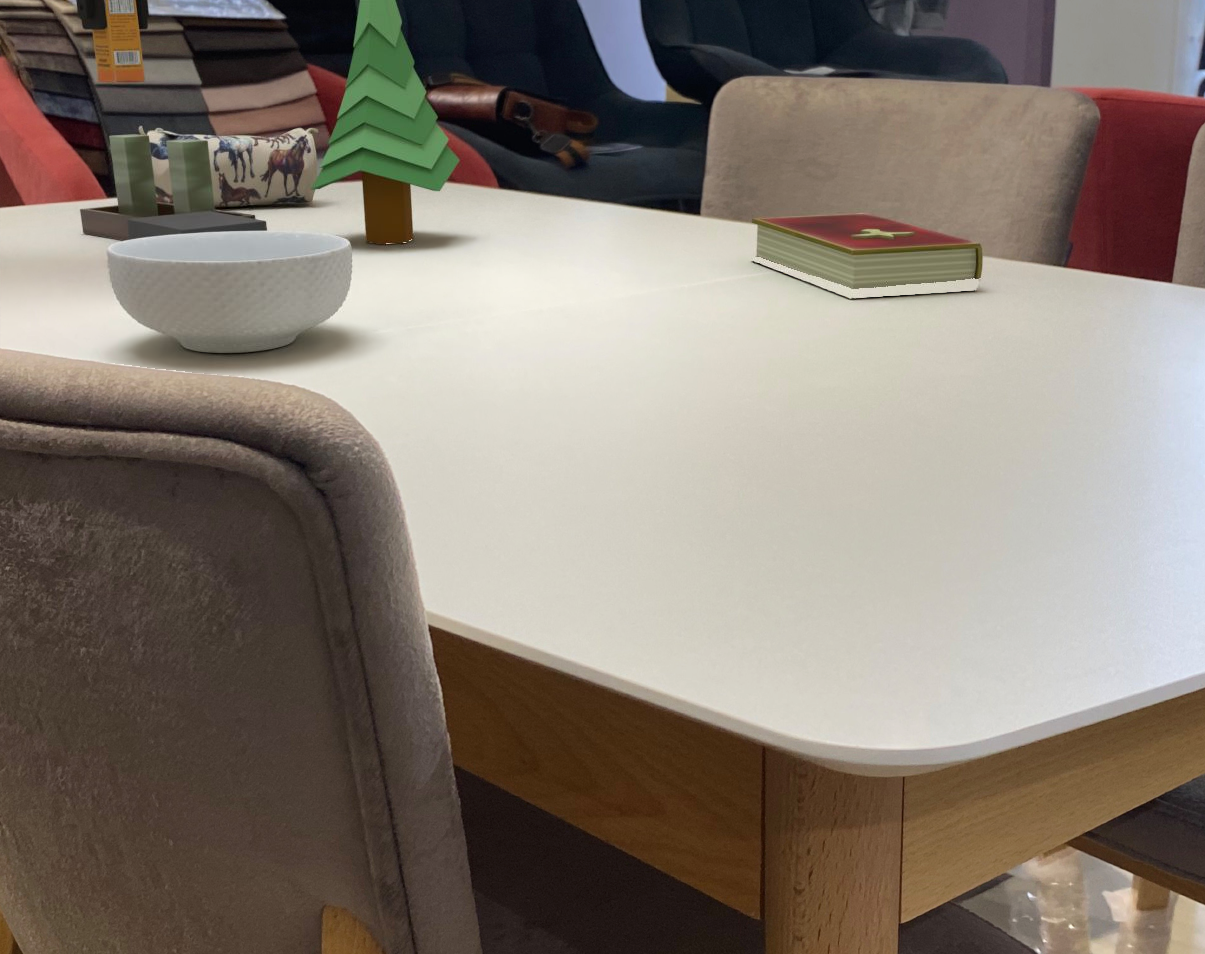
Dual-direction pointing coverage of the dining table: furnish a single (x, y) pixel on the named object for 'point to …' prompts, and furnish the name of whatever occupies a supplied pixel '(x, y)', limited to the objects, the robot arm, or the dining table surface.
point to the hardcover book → (866, 250)
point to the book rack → (153, 185)
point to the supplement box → (119, 44)
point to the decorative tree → (386, 127)
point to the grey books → (191, 224)
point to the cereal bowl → (231, 285)
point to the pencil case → (246, 167)
